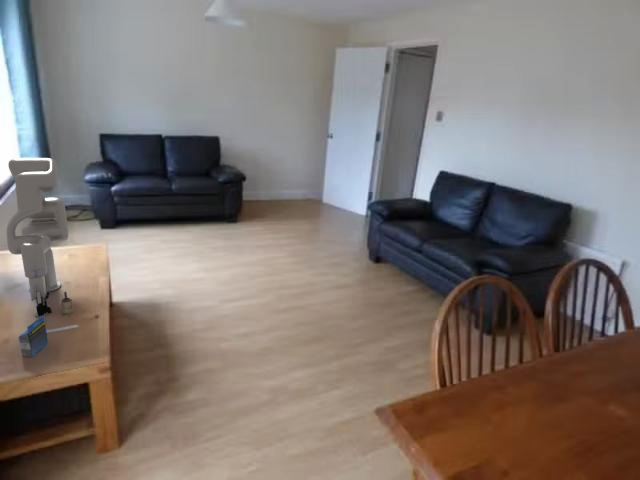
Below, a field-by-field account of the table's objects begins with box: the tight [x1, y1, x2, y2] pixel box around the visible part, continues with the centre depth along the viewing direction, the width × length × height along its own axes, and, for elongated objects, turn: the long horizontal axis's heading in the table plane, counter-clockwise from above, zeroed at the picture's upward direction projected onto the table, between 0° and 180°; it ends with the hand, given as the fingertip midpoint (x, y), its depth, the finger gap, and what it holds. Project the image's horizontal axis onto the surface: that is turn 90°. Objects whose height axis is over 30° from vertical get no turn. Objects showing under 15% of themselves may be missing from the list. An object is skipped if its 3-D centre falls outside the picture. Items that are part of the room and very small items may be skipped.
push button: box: [32, 292, 53, 318], centre depth 172 cm, size 7×5×10 cm
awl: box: [60, 291, 74, 317], centre depth 175 cm, size 4×4×10 cm
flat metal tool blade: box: [46, 324, 79, 334], centre depth 165 cm, size 2×13×1 cm, turn 122°
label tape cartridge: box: [18, 315, 49, 358], centre depth 150 cm, size 9×4×12 cm, turn 178°
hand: (42, 310), depth 173 cm, fingers closed on push button, 3 cm apart
